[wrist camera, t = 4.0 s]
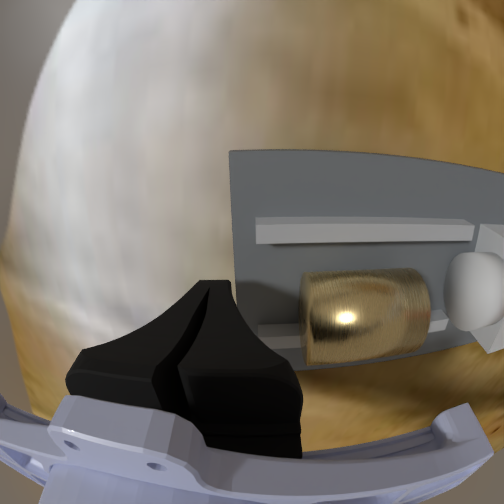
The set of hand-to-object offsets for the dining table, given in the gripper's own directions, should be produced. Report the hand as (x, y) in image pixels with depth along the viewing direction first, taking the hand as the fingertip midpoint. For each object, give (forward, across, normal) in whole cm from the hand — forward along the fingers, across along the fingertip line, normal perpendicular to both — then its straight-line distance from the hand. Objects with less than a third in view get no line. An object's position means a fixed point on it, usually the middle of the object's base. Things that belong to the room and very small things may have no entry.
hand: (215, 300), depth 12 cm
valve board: (+2, -10, 0) cm, 10 cm away
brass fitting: (+1, -6, 0) cm, 6 cm away
